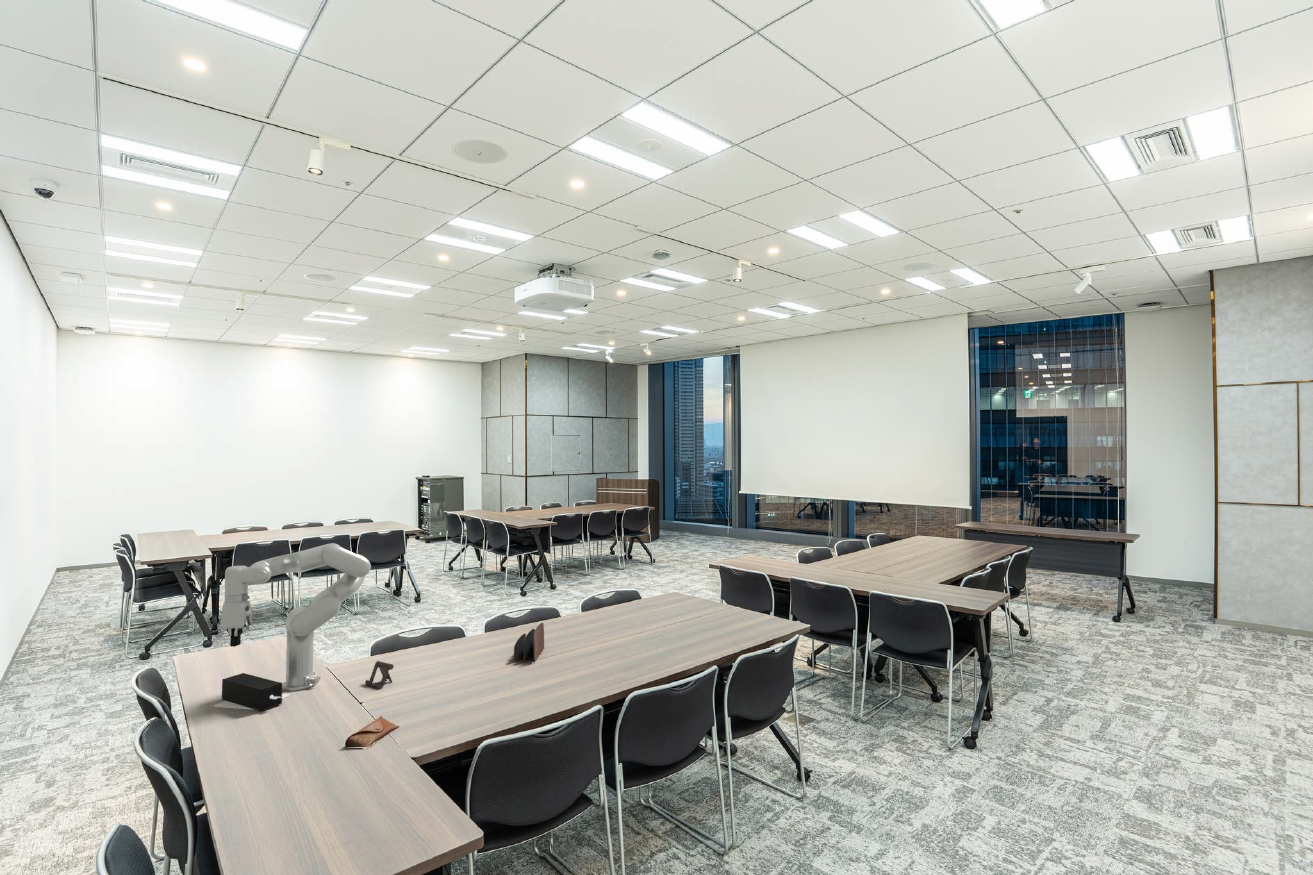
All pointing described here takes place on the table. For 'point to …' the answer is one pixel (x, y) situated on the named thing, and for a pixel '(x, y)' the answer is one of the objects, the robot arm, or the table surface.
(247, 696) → the black rectangular box
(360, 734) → the sunglasses case
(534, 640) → the letter holder
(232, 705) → the white mat
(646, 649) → the table surface
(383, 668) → the portable electronic device stand
